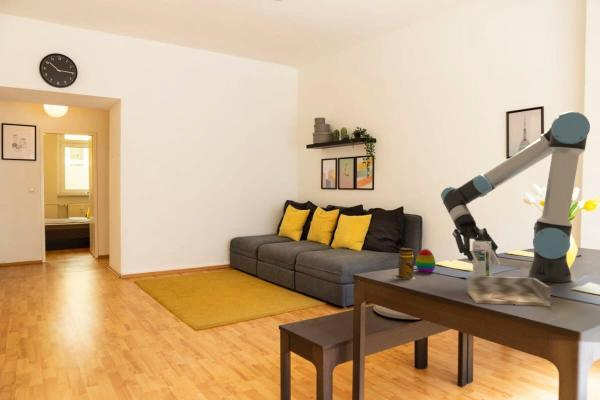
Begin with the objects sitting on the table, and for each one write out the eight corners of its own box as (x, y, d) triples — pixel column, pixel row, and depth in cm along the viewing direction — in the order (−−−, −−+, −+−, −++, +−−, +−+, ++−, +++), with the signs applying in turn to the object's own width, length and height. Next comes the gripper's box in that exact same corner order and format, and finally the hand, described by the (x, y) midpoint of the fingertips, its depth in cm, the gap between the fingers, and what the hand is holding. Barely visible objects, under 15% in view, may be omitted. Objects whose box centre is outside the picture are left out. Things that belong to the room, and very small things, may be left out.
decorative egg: (428, 269, 200) (428, 247, 200) (439, 272, 192) (439, 249, 192) (412, 270, 198) (412, 248, 197) (422, 274, 190) (423, 250, 189)
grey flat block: (534, 295, 154) (535, 277, 153) (549, 306, 140) (550, 287, 140) (467, 292, 158) (467, 275, 157) (475, 302, 144) (476, 284, 144)
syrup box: (472, 280, 165) (472, 241, 165) (476, 277, 170) (475, 239, 170) (488, 282, 162) (488, 242, 162) (492, 279, 167) (491, 240, 167)
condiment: (415, 279, 179) (416, 249, 179) (394, 279, 180) (394, 249, 179) (412, 275, 186) (412, 247, 186) (392, 275, 187) (392, 247, 187)
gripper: (481, 224, 183) (507, 270, 167) (435, 226, 179) (458, 273, 163) (489, 212, 177) (517, 259, 162) (442, 213, 173) (466, 261, 158)
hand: (487, 266), depth 163 cm, fingers closed on syrup box, 8 cm apart
